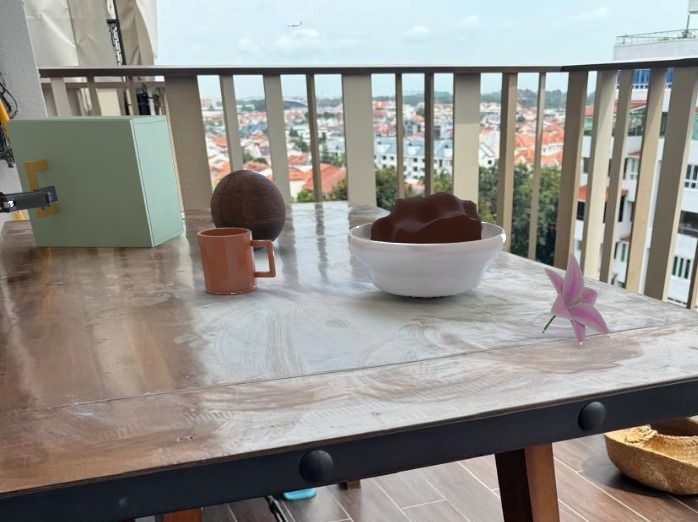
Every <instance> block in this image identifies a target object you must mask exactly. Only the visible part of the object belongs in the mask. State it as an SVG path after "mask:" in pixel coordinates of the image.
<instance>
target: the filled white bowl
mask: <svg viewBox="0 0 698 522" xmlns="http://www.w3.org/2000/svg"><path fill="white" fill-rule="evenodd" d="M506 242H507V232H506V230H505V229H504V228H503V227H502V226H499V225H497V224H494V223H489V222H486V221H482V217H481V216H480V214H479V212H478V205H477V203H475V202H474V201H473V200H471V199H462V198H461V199H460V197H458V196H456V195H455V194H453V193H451V192H449V191H438V192H435V193H431V194H428V195H426V196H421V195H420V196H419V195H415V196H412V197H411V196H406V197H403V198H397V199H396V201H395V203H394V204H393V206H392V209H391V211H390V212H389V214H387V215H385V216H382V217H379V218H377V219H375V220H374V221H373V222H369V223H368V222H367V223H364V224H360V225H357V226H355V227H352V228H351V229H350V230H349V231H348V233H347V245H348V247H349V250H351V251H350V252H352V253H353V255H354V257H355V258H356V259H357V260H358V262H359V263H360V264H361V265H362V266H363V267H364V269H365V270H366V272H367V275H368V278H369V279H370V282H371V283H372V285H373V286H374V287H376V288H377V289H379V290H380V291H382V292H384V293H388V294H391V295H396V296H403V297H409V296H412V297H411V298H415V297H437V298H440V297H439V296H443V297H446V296H447V297H448V296H454V295H460V294H465V293H467V292H470V291H472V290H474V289H476V288H477V287H478V286H480V284H481V283H482V282H483V279H484V277H485V275H486V272H487V270H488V268H489V266H490V265H491V264H492V263H494V261H495V260H496V259H497V258H498V256H499V255H500V253H501V252H502V251H503V248H504V247H505V244H506ZM443 297H442V298H443ZM409 298H410V297H409ZM437 298H436V299H437ZM415 299H416V298H415Z"/></svg>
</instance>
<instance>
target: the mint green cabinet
mask: <svg viewBox="0 0 698 522" xmlns="http://www.w3.org/2000/svg"><path fill="white" fill-rule="evenodd" d="M4 124H5V128H6V131H7V136H8V140H9V143H10V147H11V152H12V155H13V160H14V163H15V167H16V171H17V175H18V179H19V182H20V186H21V192H30V191H33V190H34V189H39V188H43V187H47V186H55V190H56V194H57V198H58V201H56V202H52V206H50V207H47V206H46V210H42V209H41V207H39V208H32V209H26V210H27V215H28V217H29V218H28V219H29V223H30V227H31V230H32V234H33V238H34V242H35V246H36V247H39V248H41V247H42V248H43V247H44V248H154V242H153V237H152V231H151V226H150V220H149V214H148V209H147V203H146V197H145V192H144V186H143V180H142V175H141V169H140V163H139V158H138V152H137V146H136V141H135V135H134V129H133V124H132V120H50V121H8V120H4Z"/></svg>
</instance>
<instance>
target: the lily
mask: <svg viewBox="0 0 698 522" xmlns="http://www.w3.org/2000/svg"><path fill="white" fill-rule="evenodd" d="M543 270H544V272H545V274H546V276H547V277H548V279H549V280H550V282H551V284H552V286H553V287H554V289H555V292H556V293H557V296H556V297H555V300H554V302H553V303H552V305H551V308H550V313H551V314H552V317H551V318H550V319H549V321H548V322H547V323H546V325H545V326H544V328H543V329H544V330H545V331H546V330H547V329H548V328H549V326H550V325H551V323H552V322H553V321H554V319H555V318H557V317H558V318H561V319H565V320H568V321H570V323H571V326H572V329H573V331H574V334H575V338H576V339H577V343H578V344H579V343H580V342H583V341H584V342H585V338H586V331H587V330H586V329H587V328H590V329H591V330H593V331H596V332H597V333H600V334H601V335H603V336H605V335H606V334H608V333H610V330H609V327H608V326H607V323H606V321H605V320H604V317H603V316H602V314H601V313H600V311H599V310H598V309H597V308H596V306H595V304H596V302H597V299H598V295H599V294H598V292H597V290H595V289H594V288H591V287H588V286H585V278H584V274H583V271H582V269H581V266H580V264H579V261H578V259H577V257H576V256H575V254H574V253H573V252H570V254H569V257H568V262H567V266H566V271H565V274H564V278H563V276H562V275H560V274H559V273H558V272H556V271H554V270H552V269H550V268H547V267H544V268H543ZM586 327H587V328H586ZM545 331H544V332H542V333H543V334H544V333H545ZM610 337H611V335H610V336H608V337H607V338H610ZM582 347H583V345H582V346H579V348H580V349H581V348H582Z"/></svg>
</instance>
